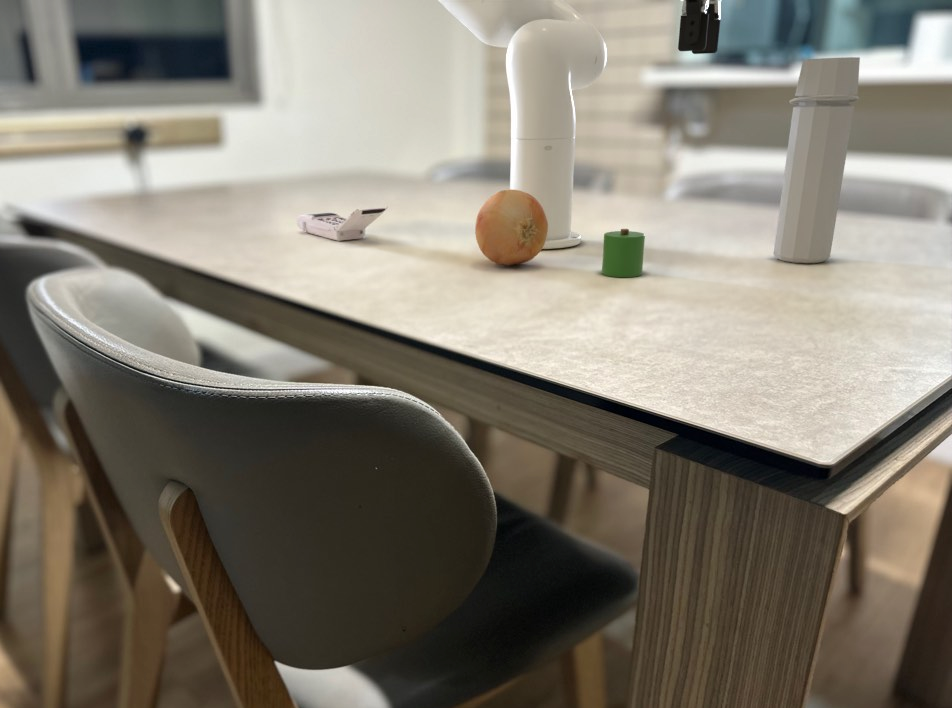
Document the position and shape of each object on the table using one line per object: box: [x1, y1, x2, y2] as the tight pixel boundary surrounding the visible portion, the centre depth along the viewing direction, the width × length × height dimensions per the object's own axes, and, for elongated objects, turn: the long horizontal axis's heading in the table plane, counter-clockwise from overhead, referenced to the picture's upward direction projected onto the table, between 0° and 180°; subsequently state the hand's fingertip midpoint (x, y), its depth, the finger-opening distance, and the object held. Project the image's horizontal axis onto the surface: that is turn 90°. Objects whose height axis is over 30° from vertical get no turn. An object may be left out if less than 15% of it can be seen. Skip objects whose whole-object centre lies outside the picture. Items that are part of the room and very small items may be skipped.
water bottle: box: [773, 56, 861, 264], centre depth 105 cm, size 9×8×25 cm
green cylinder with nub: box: [601, 228, 646, 278], centre depth 102 cm, size 5×5×6 cm
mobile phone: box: [296, 206, 389, 242], centre depth 136 cm, size 6×6×25 cm
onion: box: [474, 189, 548, 266], centre depth 108 cm, size 10×10×10 cm
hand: (698, 52), depth 103 cm, fingers open, 9 cm apart
